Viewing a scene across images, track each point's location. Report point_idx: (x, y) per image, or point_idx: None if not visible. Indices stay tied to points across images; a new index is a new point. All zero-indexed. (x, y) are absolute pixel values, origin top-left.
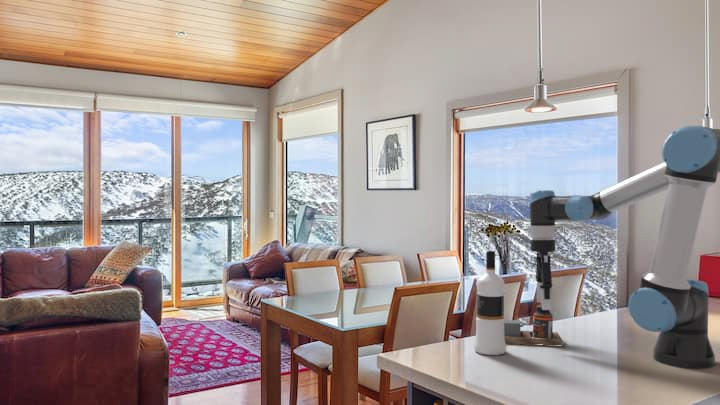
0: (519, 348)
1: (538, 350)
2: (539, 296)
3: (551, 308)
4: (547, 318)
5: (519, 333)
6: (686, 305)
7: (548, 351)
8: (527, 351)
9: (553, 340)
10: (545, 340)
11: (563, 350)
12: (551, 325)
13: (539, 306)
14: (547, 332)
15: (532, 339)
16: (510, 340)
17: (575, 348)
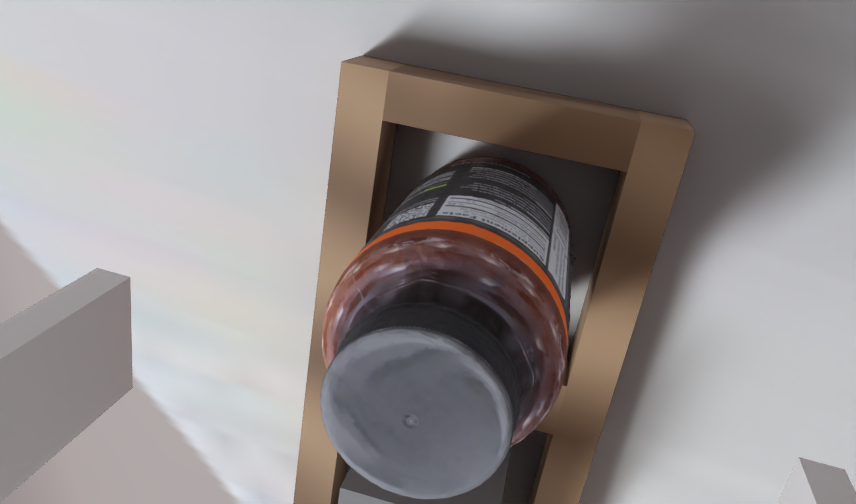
0: (710, 493)
1: (798, 379)
2: (64, 415)
3: (849, 487)
4: (564, 333)
5: (505, 474)
6: None
7: (849, 311)
8: None
9: (667, 216)
10: (643, 284)
11: (837, 161)
12: (539, 235)
13: (442, 480)
14: (568, 262)
15: (612, 389)
16: None
17: (776, 5)
